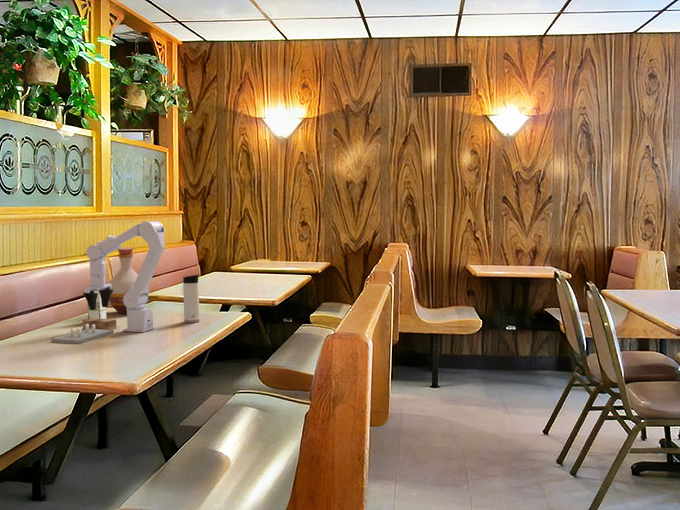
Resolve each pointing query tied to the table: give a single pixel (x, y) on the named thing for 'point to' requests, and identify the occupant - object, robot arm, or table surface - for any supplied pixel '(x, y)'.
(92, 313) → the syrup box
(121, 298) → the jug
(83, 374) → the table surface
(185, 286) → the travel mug
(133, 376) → the table surface
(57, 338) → the peg plate
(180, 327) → the table surface
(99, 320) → the copper brown rectangular block
